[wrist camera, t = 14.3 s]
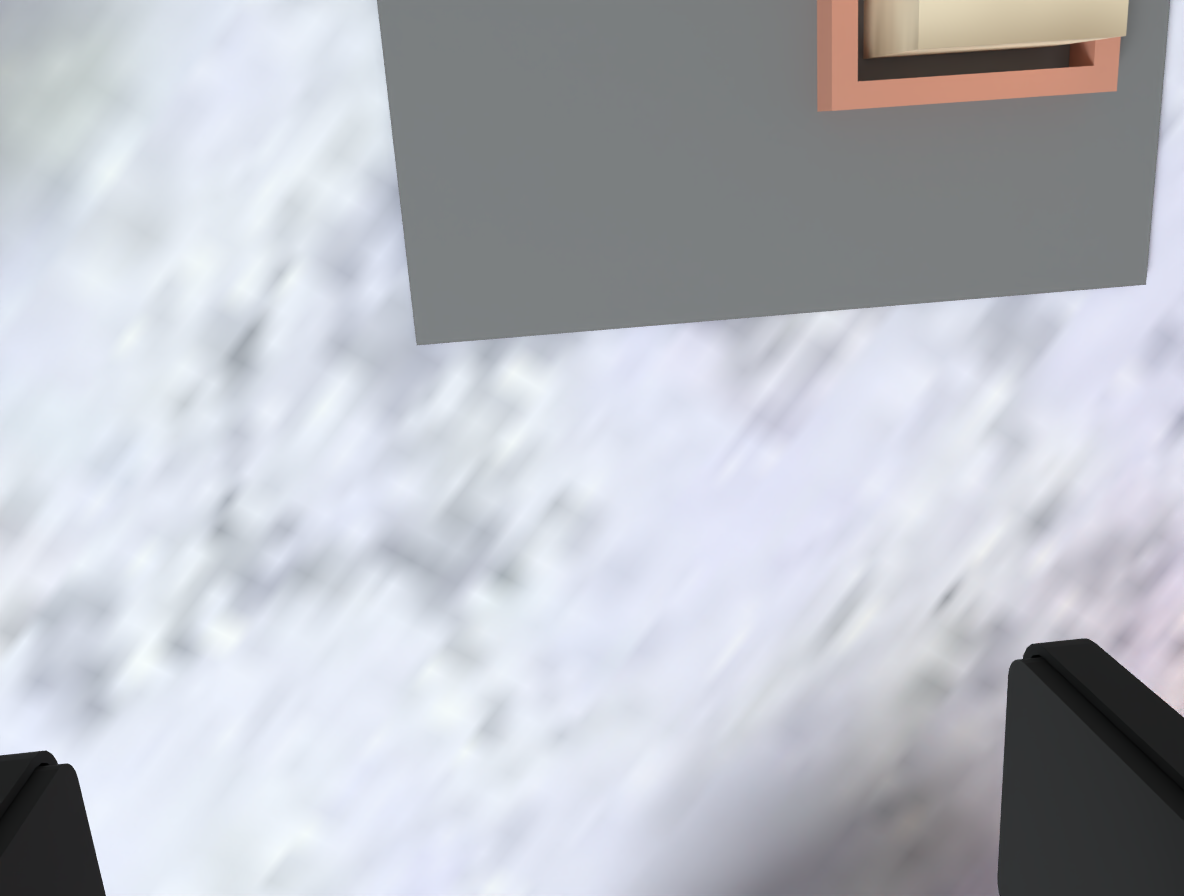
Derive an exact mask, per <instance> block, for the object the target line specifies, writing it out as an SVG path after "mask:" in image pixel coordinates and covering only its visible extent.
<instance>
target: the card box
mask: <svg viewBox="0 0 1184 896" xmlns="http://www.w3.org/2000/svg"><path fill="white" fill-rule="evenodd" d="M1128 4H1129V0H864V34H863V59H871V58H887V57H902V56H918V55H933V54H949V53H965V52H980V51H996V50H1011V49H1027V48H1042V47H1051V46H1058V45H1065V44H1072V43H1079V42H1086V41H1093V40H1100V39H1107V38H1114V37H1121V36H1126V30H1127V17H1128Z"/></svg>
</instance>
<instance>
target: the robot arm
mask: <svg viewBox="0 0 1184 896" xmlns="http://www.w3.org/2000/svg"><path fill="white" fill-rule="evenodd" d="M998 889H999V895H1000V896H1184V717H1182V716H1181V715H1180V714H1179V713H1178V712H1177V711H1175V710H1174V709H1173V708H1172V707H1171V706H1169V705H1168V704H1167V703H1166V702H1165V701H1163V700H1162V699H1161V698H1160V697H1159V696H1158V695H1156V694H1155V693H1154V692H1153V691H1152V690H1150V689H1149V688H1148V687H1147V686H1146V685H1144V684H1143V683H1142V682H1141V681H1140V680H1139V679H1137V678H1136V677H1135V676H1134V675H1133V674H1131V673H1130V672H1129V671H1128V670H1127V669H1125V668H1124V667H1123V666H1122V665H1121V664H1120V663H1118V662H1117V661H1116V660H1115V659H1114V658H1112V657H1111V656H1110V655H1109V654H1108V653H1106V652H1105V651H1104V650H1103V649H1102V648H1101V647H1099V646H1098V645H1097V644H1096V643H1095V642H1093V641H1091V640H1089V639H1073V640H1064V641H1055V642H1046V643H1036V644H1031V645H1030V646H1029V647H1027V649H1026V651H1025V653H1024V655H1023V659H1020V660H1015V661H1014V662H1012V664H1011V666H1010V668H1009V674H1008V690H1007V709H1006V727H1005V746H1004V765H1003V784H1002V803H1001V821H1000V840H999V859H998ZM0 896H106V895H105V890H104V886H103V882H102V878H101V874H100V869H99V865H98V861H97V857H96V852H95V848H94V844H93V840H92V836H91V831H90V827H89V823H88V819H87V815H86V810H85V806H84V802H83V798H82V793H81V789H80V785H79V781H78V777H77V774H76V771H75V770H74V768H73V767H72V766H71V765H70V764H68V763H67V764H58V763H57V761H56V759H55V758H54V756H53V755H52V754H51V753H49V752H48V751H37V752H28V753H19V754H10V755H0Z"/></svg>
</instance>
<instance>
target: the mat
mask: <svg viewBox="0 0 1184 896" xmlns="http://www.w3.org/2000/svg"><path fill="white" fill-rule="evenodd" d="M377 4H378V13H379V22H380V30H381V39H382V48H383V56H384V65H385V74H386V83H387V91H388V100H389V109H390V117H391V126H392V135H393V143H394V152H395V161H396V169H397V178H398V187H399V195H400V204H401V213H402V221H403V230H404V239H405V247H406V256H407V265H408V273H409V282H410V291H411V300H412V308H413V317H414V326H415V334H416V343H417V345H426V344H438V343H450V342H462V341H474V340H486V339H498V338H510V337H522V336H534V335H546V334H558V333H570V332H582V331H594V330H606V329H618V328H630V327H642V326H654V325H666V324H678V323H690V322H702V321H714V320H726V319H738V318H750V317H762V316H774V315H786V314H798V313H810V312H822V311H834V310H846V309H858V308H870V307H883V306H895V305H907V304H919V303H931V302H943V301H955V300H967V299H979V298H991V297H1003V296H1015V295H1027V294H1039V293H1051V292H1063V291H1075V290H1087V289H1099V288H1111V287H1123V286H1135V285H1146V277H1147V265H1148V254H1149V242H1150V230H1151V218H1152V207H1153V195H1154V183H1155V171H1156V160H1157V148H1158V136H1159V124H1160V112H1161V101H1162V89H1163V77H1164V65H1165V54H1166V42H1167V30H1168V18H1169V7H1170V0H1129V4H1128V17H1127V30H1126V36H1121V37H1114V38H1107V39H1100V40H1093V41H1086V42H1079V43H1072V44H1065V45H1058V46H1051V47H1042V48H1027V49H1011V50H996V51H980V52H965V53H949V54H933V55H918V56H902V57H887V58H871V59H863V34H864V0H377Z"/></svg>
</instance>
